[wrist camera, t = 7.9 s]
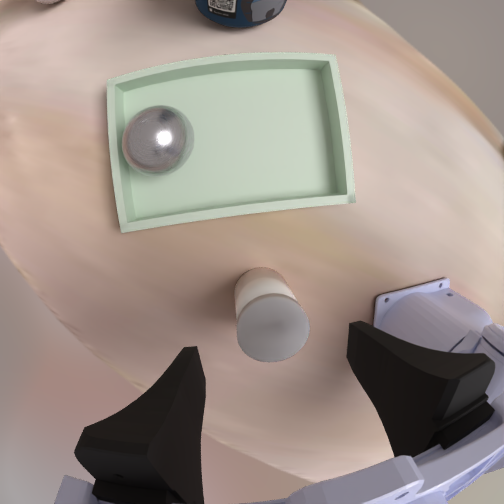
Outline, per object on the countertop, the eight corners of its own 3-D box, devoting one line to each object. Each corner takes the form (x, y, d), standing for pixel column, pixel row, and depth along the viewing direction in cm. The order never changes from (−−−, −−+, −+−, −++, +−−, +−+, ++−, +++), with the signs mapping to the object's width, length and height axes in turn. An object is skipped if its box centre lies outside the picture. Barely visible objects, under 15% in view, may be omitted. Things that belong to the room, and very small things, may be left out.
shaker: (286, 263, 21) (308, 294, 15) (289, 312, 22) (310, 355, 16) (230, 271, 20) (231, 306, 15) (237, 320, 22) (242, 366, 16)
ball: (192, 111, 17) (191, 90, 13) (197, 173, 18) (197, 168, 14) (129, 121, 16) (111, 103, 12) (134, 182, 18) (115, 181, 13)
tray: (325, 65, 17) (335, 54, 15) (342, 200, 20) (355, 202, 18) (117, 88, 16) (106, 80, 14) (131, 227, 19) (121, 233, 17)
